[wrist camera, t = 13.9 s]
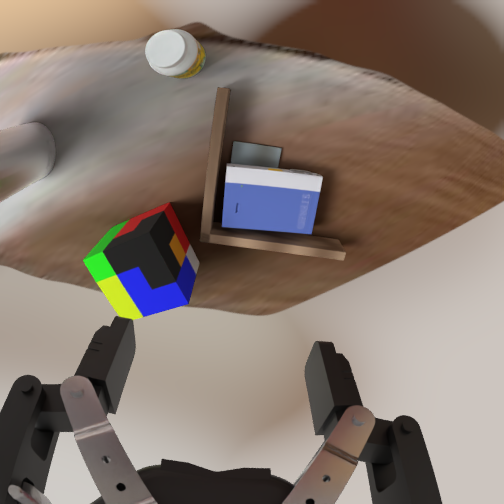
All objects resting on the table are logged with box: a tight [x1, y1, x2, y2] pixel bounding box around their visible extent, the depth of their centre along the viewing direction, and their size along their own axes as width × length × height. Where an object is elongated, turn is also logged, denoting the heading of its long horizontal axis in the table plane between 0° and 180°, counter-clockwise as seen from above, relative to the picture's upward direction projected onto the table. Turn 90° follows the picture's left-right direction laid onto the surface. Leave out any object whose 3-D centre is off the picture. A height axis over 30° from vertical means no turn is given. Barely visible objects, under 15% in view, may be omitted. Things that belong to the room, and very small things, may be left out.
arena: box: [200, 87, 346, 260], centre depth 38 cm, size 19×19×4 cm
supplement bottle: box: [145, 29, 206, 79], centre depth 28 cm, size 5×5×10 cm
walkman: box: [222, 163, 323, 234], centre depth 39 cm, size 8×3×12 cm
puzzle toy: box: [83, 202, 199, 320], centre depth 40 cm, size 10×10×10 cm
